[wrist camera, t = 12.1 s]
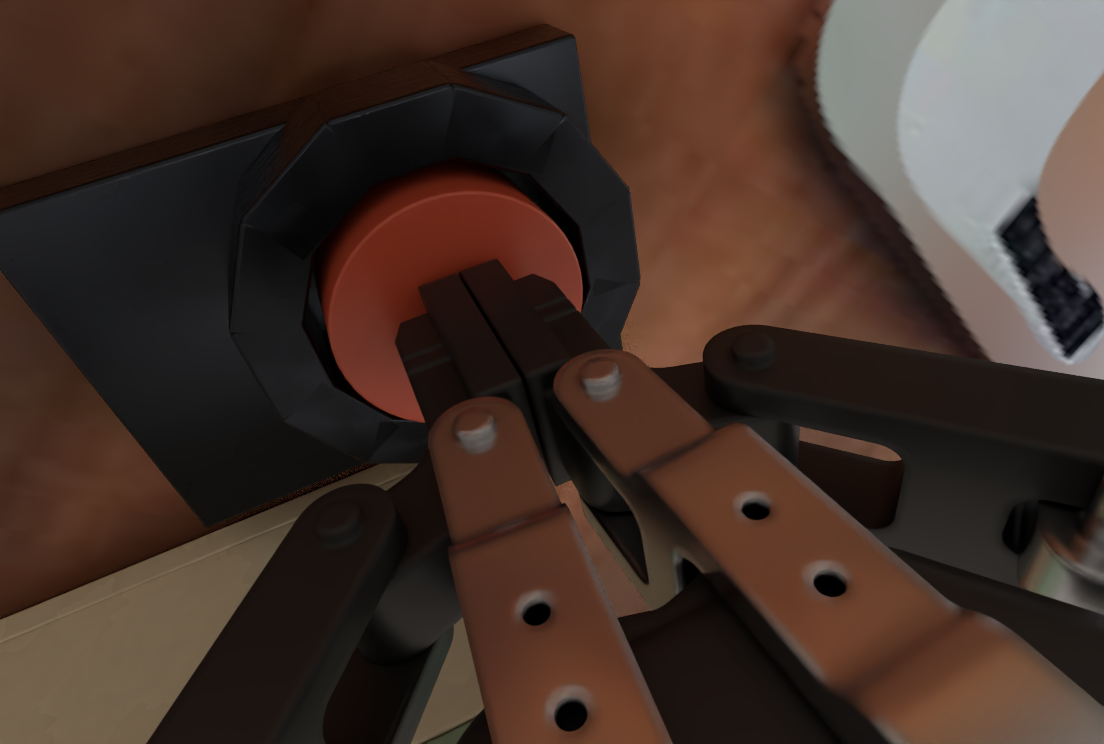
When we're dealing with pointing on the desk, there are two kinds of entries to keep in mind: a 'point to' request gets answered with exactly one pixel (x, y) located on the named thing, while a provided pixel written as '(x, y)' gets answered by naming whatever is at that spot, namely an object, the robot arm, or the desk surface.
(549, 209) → the control block
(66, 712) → the tin
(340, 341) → the button
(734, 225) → the desk surface
